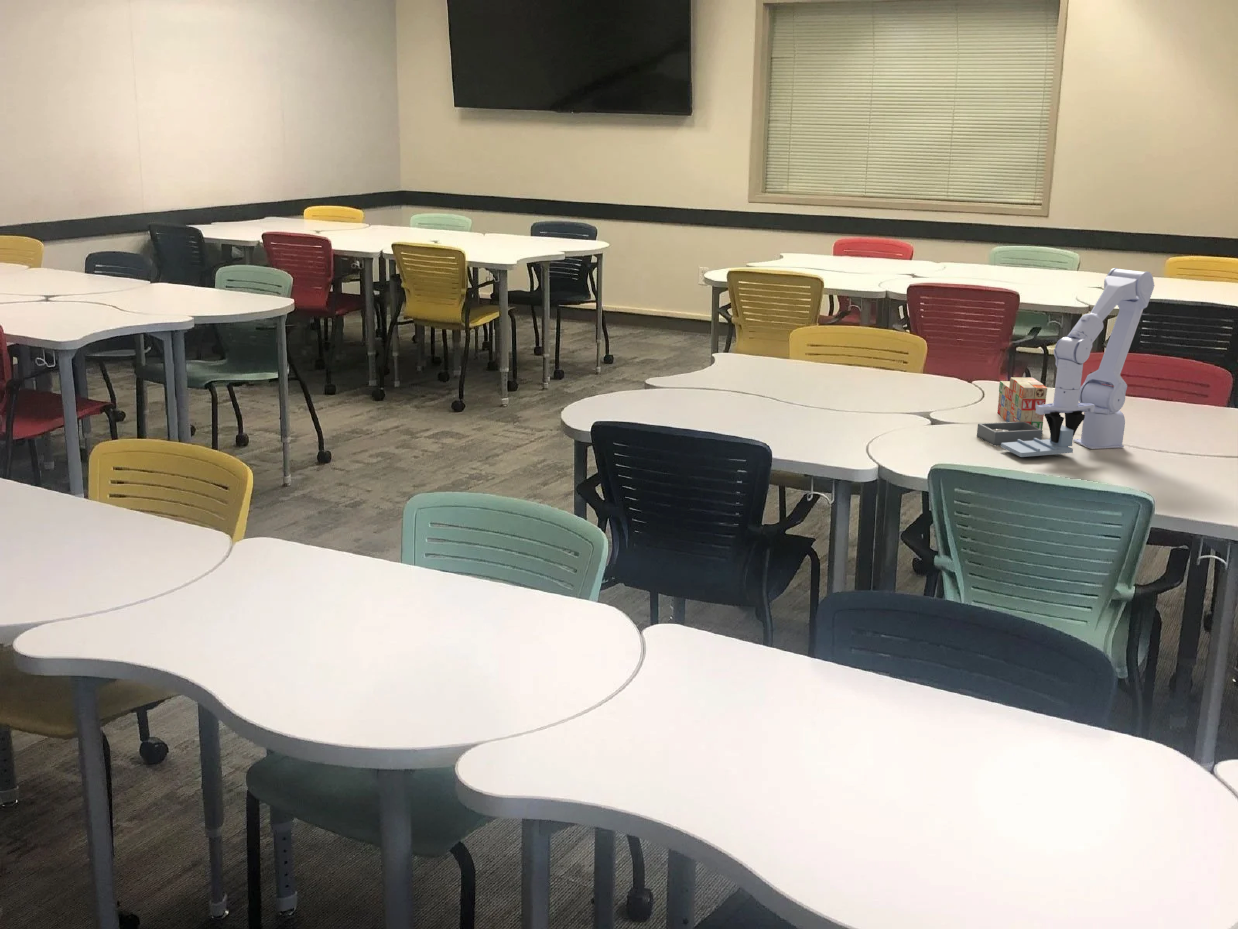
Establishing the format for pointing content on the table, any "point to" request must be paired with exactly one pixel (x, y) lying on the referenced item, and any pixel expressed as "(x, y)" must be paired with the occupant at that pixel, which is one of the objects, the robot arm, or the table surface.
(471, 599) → the table surface
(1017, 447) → the lid
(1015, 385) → the stack of blocks
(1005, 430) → the tub
